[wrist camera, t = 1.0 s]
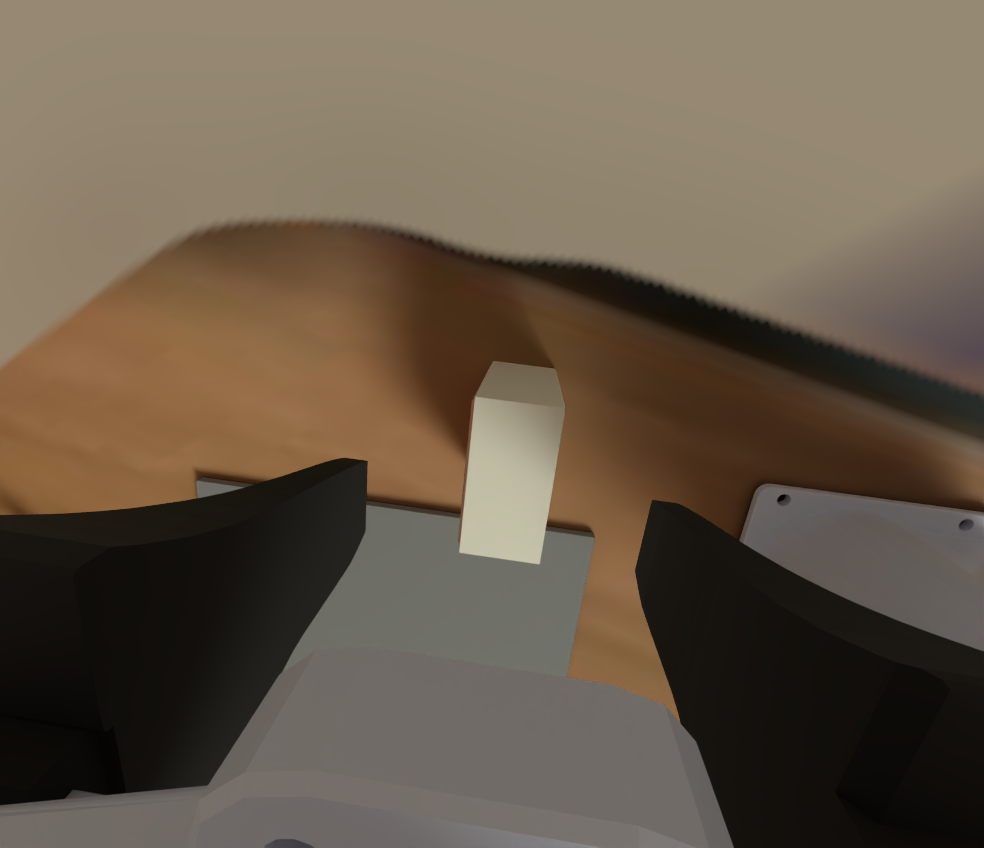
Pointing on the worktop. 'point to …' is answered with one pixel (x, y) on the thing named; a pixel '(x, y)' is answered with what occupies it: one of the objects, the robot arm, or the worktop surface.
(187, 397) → the worktop surface
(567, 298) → the worktop surface
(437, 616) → the mat
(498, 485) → the cream upright block
